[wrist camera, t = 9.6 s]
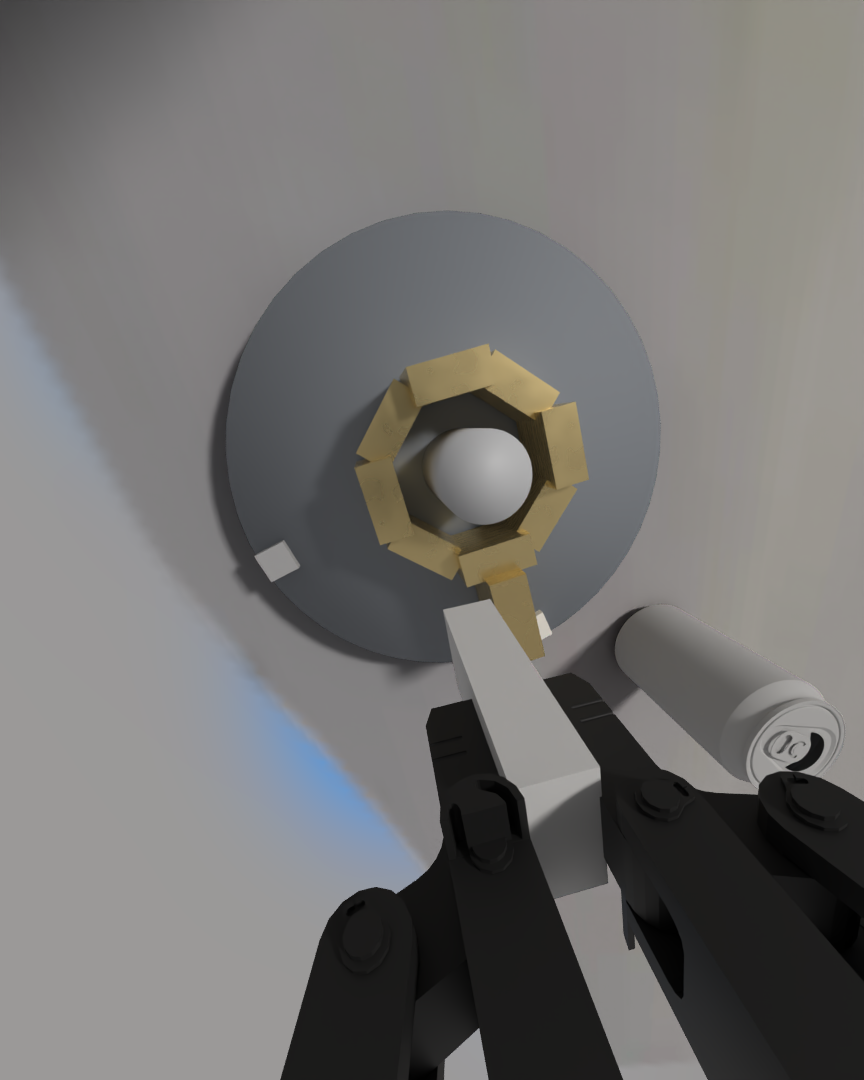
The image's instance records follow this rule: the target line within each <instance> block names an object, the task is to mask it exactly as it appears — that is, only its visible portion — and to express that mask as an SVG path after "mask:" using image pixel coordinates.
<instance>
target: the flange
mask: <svg viewBox="0 0 864 1080" xmlns="http://www.w3.org/2000/svg"><path fill="white" fill-rule="evenodd" d="M488 343H489V347H490V352H492V351H493V350H495V349H496V350H497V351H499V352H500V353H502V354H503V355H505V356H506V357H508V358H509V359H511V360H512V361H514V362H515V363H517V364H518V365H520V366H521V367H523V368H524V369H526V370H527V371H529V372H530V373H532V374H533V375H535V376H536V377H538V378H539V379H541V380H542V381H544V382H545V383H547V384H548V385H550V386H551V387H553V388H554V389H556V390H557V391H559V392H560V393H559V395H558V397H557V399H556V400H555V402H554V404H560V403H568V402H576V406H577V412H578V418H579V424H580V429H581V435H582V441H583V447H584V453H585V459H586V464H587V470H588V476H589V480H586V481H583V482H580V483H577V484H573V485H572V486H573V487H575V488H577V491H576V492H575V494H574V496H573V497H572V499H571V501H570V502H569V504H568V506H567V507H566V509H565V510H564V512H563V514H562V515H561V517H560V519H559V520H558V522H557V524H556V525H555V527H554V529H553V530H552V532H551V534H550V535H549V537H548V539H547V540H546V542H545V543H544V545H543V547H542V548H541V550H540V552H539V551H537V550H535V549H534V551H535V556H536V560H537V565H534V566H531V567H528V568H525V569H522V570H523V571H524V572H525V573H526V575H527V580H528V584H529V588H530V593H531V597H532V601H533V606H534V610H535V614H536V619H537V623H538V627H539V632H540V636H541V640H542V639H544V638H546V637H548V636H550V635H552V632H551V630H552V629H554V628H556V627H557V626H559V625H560V624H562V623H563V622H564V621H566V620H567V619H568V618H570V617H571V616H572V615H573V614H575V613H576V612H577V611H579V610H580V609H581V608H582V607H583V606H584V605H585V604H586V603H587V602H588V601H589V600H590V599H591V598H592V597H593V596H595V595H596V594H597V593H598V592H599V590H600V589H601V588H602V587H603V586H604V584H605V583H606V582H607V581H608V580H609V578H610V577H611V576H612V575H613V574H614V572H615V571H616V569H617V568H618V566H619V565H620V563H621V562H622V560H623V559H624V557H625V556H626V554H627V553H628V551H629V549H630V547H631V545H632V543H633V541H634V539H635V537H636V536H637V534H638V532H639V530H640V528H641V525H642V522H643V520H644V517H645V514H646V512H647V509H648V507H649V504H650V500H651V496H652V492H653V488H654V485H655V481H656V476H657V469H658V461H659V454H660V424H661V423H660V413H659V403H658V394H657V390H656V385H655V381H654V376H653V372H652V367H651V365H650V362H649V359H648V356H647V354H646V351H645V348H644V345H643V342H642V340H641V338H640V336H639V334H638V332H637V330H636V328H635V326H634V324H633V322H632V320H631V319H630V317H629V315H628V313H627V312H626V310H625V309H624V307H623V306H622V304H621V303H620V302H619V300H618V299H617V297H616V296H615V294H614V293H613V292H612V290H611V289H610V288H609V287H608V286H607V285H606V284H605V282H604V281H603V280H602V279H601V278H600V277H599V276H598V275H597V274H596V273H595V272H594V271H593V270H592V269H591V267H589V266H588V265H587V264H586V263H584V262H583V261H582V260H581V259H579V258H578V257H577V256H576V255H575V254H573V253H572V252H571V251H570V250H568V249H567V248H566V247H564V246H562V245H561V244H559V243H557V242H555V241H554V240H552V239H550V238H549V237H547V236H545V235H544V234H542V233H540V232H538V231H535V230H533V229H531V228H528V227H526V226H523V225H521V224H518V223H516V222H513V221H511V220H507V219H502V218H498V217H494V216H490V215H485V214H481V213H471V212H458V211H436V212H424V213H413V214H409V215H405V216H401V217H397V218H392V219H388V220H384V221H381V222H378V223H376V224H374V225H371V226H369V227H366V228H364V229H361V230H359V231H357V232H354V233H352V234H350V235H348V236H347V237H345V238H343V239H342V240H340V241H338V242H337V243H335V244H333V245H332V246H330V247H328V248H327V249H325V250H323V251H322V252H321V253H319V254H318V255H317V256H316V257H315V258H313V259H312V260H311V261H310V262H309V263H307V264H306V265H305V266H304V267H303V268H302V269H300V270H299V271H298V272H297V273H296V274H295V275H294V276H293V277H292V278H291V279H290V280H289V282H288V283H287V284H286V285H285V286H284V287H283V288H282V289H281V291H280V292H279V293H278V294H277V295H276V296H275V297H274V299H273V300H272V302H271V303H270V305H269V306H268V308H267V309H266V311H265V312H264V314H263V315H262V317H261V318H260V320H259V321H258V323H257V325H256V326H255V328H254V330H253V332H252V334H251V337H250V339H249V341H248V343H247V345H246V347H245V349H244V352H243V354H242V356H241V359H240V362H239V365H238V369H237V372H236V375H235V378H234V382H233V385H232V388H231V394H230V401H229V407H228V414H227V420H226V459H227V467H228V475H229V484H230V488H231V492H232V496H233V500H234V503H235V507H236V511H237V515H238V517H239V520H240V522H241V524H242V527H243V529H244V532H245V534H246V537H247V539H248V542H249V544H250V545H251V547H252V549H253V550H254V552H255V554H256V555H255V556H254V557H255V558H256V560H257V561H258V563H259V564H260V566H261V567H262V569H263V570H264V572H265V573H266V575H267V576H268V578H269V579H270V581H271V582H273V581H274V582H275V584H276V585H277V586H278V587H279V589H280V590H281V591H282V592H283V593H284V594H285V595H286V596H287V597H288V598H289V599H290V600H291V601H292V602H293V603H294V604H295V605H296V606H297V607H298V608H299V609H300V610H301V611H302V612H304V613H305V614H306V615H307V616H309V617H310V618H311V619H313V620H314V621H315V622H316V623H318V624H319V625H320V626H322V627H323V628H325V629H327V630H328V631H330V632H332V633H333V634H335V635H337V636H339V637H340V638H342V639H344V640H346V641H348V642H350V643H353V644H355V645H357V646H360V647H362V648H364V649H366V650H369V651H372V652H376V653H379V654H383V655H386V656H390V657H393V658H399V659H405V660H412V661H418V662H442V663H444V662H453V661H452V655H451V650H450V645H449V639H448V634H447V629H446V623H445V618H444V613H443V610H444V609H448V608H453V607H457V606H461V605H466V604H470V603H474V602H479V599H478V596H477V592H476V588H475V585H473V586H470V587H467V586H466V585H465V583H464V582H463V580H462V579H461V577H460V575H459V574H458V572H456V574H455V576H454V578H453V579H452V580H450V579H448V578H446V577H444V576H442V575H440V574H438V573H436V572H434V571H432V570H430V569H428V568H426V567H423V566H421V565H419V564H417V563H415V562H413V561H411V560H409V559H407V558H405V557H403V556H401V555H399V554H397V553H395V552H393V551H390V550H388V549H387V544H383V545H380V543H379V540H378V537H377V534H376V531H375V528H374V525H373V522H372V519H371V516H370V513H369V510H368V507H367V504H366V501H365V498H364V495H363V492H362V489H361V486H360V483H359V480H358V477H357V474H356V471H355V464H356V462H357V461H360V460H363V459H365V458H364V457H362V456H360V455H358V454H356V452H357V450H358V448H359V446H360V444H361V442H362V440H363V438H364V436H365V434H366V432H367V430H368V428H369V426H370V424H371V422H372V420H373V418H374V416H375V414H376V412H377V410H378V408H379V406H380V404H381V402H382V400H383V398H384V396H385V394H386V392H387V390H388V388H389V386H390V384H391V383H392V381H393V379H395V380H397V381H399V382H400V378H399V377H400V375H401V374H402V372H403V371H404V369H405V368H406V367H408V366H411V365H415V364H418V363H422V362H425V361H429V360H432V359H436V358H439V357H443V356H446V355H450V354H453V353H457V352H460V351H464V350H467V349H471V348H474V347H478V346H481V345H485V344H488ZM400 383H401V382H400ZM393 466H394V469H395V472H396V476H397V479H398V482H399V485H400V489H401V492H402V495H403V499H404V502H405V505H406V508H407V512H408V514H410V515H412V516H414V517H416V518H418V519H420V520H422V521H424V522H426V523H428V524H430V525H432V526H433V527H435V528H437V529H439V530H441V531H443V532H445V533H447V534H449V535H451V536H452V535H455V534H458V533H461V532H464V531H467V530H470V529H474V528H477V527H480V526H483V525H488V524H494V523H497V522H500V521H503V520H505V519H507V518H508V517H510V516H511V515H512V514H514V513H515V512H516V511H517V510H518V509H519V508H520V507H521V505H522V504H523V503H524V501H525V499H526V498H527V496H528V493H529V491H530V487H531V483H532V465H531V461H530V458H529V455H528V453H527V451H526V449H525V448H524V446H523V445H522V444H521V443H520V439H519V434H518V430H517V425H516V421H514V420H513V419H511V418H510V417H508V416H506V415H505V414H503V413H502V412H500V411H498V410H497V409H495V408H494V407H492V406H490V405H489V404H487V403H486V402H484V401H482V400H481V399H479V398H478V397H476V396H474V395H473V394H471V393H467V394H463V395H460V396H456V397H453V398H450V399H446V400H443V401H439V402H436V403H432V404H429V405H426V406H422V407H421V409H420V411H419V413H418V415H417V417H416V419H415V421H414V423H413V425H412V427H411V428H410V430H409V432H408V434H407V436H406V438H405V440H404V442H403V444H402V446H401V448H400V449H399V451H398V453H397V455H396V457H395V459H394V461H393Z"/></svg>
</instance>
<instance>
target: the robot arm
mask: <svg viewBox="0 0 864 1080" xmlns="http://www.w3.org/2000/svg"><path fill="white" fill-rule="evenodd" d="M443 613H444V618H445V623H446V629H447V634H448V639H449V645H450V650H451V655H452V661H453V666H454V671H455V676H456V682H457V686H458V689H459V692H460V695H461V698H462V701H461V702H457V703H453V704H449V705H445V706H441V707H437V708H433V709H431V712H430V715H429V718H428V721H427V724H426V730H427V735H428V741H429V746H430V752H431V757H432V762H433V768H434V774H435V779H436V785H437V790H438V796H439V801H440V824H441V828H442V832H443V837H444V838H443V843H442V847H441V849H440V852H439V854H438V856H437V858H436V860H435V861H434V863H433V864H432V865H431V867H430V868H429V869H428V870H427V871H426V872H425V873H424V874H423V875H422V876H421V877H419V878H418V879H417V880H416V881H414V882H413V883H412V884H410V885H408V886H407V887H406V888H405V889H403V890H401V891H400V892H398V893H397V894H395V893H394V892H393V891H392V890H387V889H383V888H378V887H374V888H370V889H366V890H362V891H358V892H357V893H355V894H354V895H352V896H351V897H349V898H348V899H347V900H345V901H344V902H342V904H341V905H340V906H339V907H338V909H337V910H336V911H335V912H334V914H333V915H332V916H331V917H330V918H329V920H328V922H327V925H326V927H325V929H324V932H323V934H322V936H321V939H320V941H319V945H318V948H317V952H316V955H315V959H314V962H313V966H312V970H311V973H310V977H309V980H308V984H307V988H306V991H305V995H304V998H303V1002H302V1005H301V1009H300V1012H299V1016H298V1019H297V1023H296V1026H295V1030H294V1034H293V1037H292V1040H291V1044H290V1048H289V1051H288V1055H287V1059H286V1062H285V1065H284V1069H283V1072H282V1076H281V1079H280V1080H444V1064H445V1063H444V1062H445V1059H446V1058H447V1057H448V1056H449V1055H450V1054H451V1053H452V1052H453V1051H454V1050H455V1049H456V1048H458V1047H459V1046H460V1045H461V1044H462V1043H463V1042H464V1041H465V1040H466V1039H467V1038H469V1037H470V1036H471V1035H472V1034H473V1033H474V1032H475V1031H476V1030H477V1029H478V1028H479V1029H480V1034H481V1040H482V1045H483V1051H484V1056H485V1062H486V1067H487V1073H488V1078H489V1080H623V1078H622V1076H621V1073H620V1070H619V1068H618V1065H617V1063H616V1060H615V1057H614V1055H613V1052H612V1049H611V1047H610V1044H609V1042H608V1039H607V1036H606V1034H605V1031H604V1029H603V1026H602V1023H601V1021H600V1018H599V1016H598V1013H597V1010H596V1008H595V1005H594V1003H593V1000H592V997H591V995H590V992H589V990H588V987H587V984H586V982H585V979H584V976H583V974H582V971H581V969H580V966H579V963H578V961H577V958H576V956H575V953H574V950H573V948H572V945H571V943H570V940H569V937H568V935H567V932H566V930H565V927H564V924H563V922H562V919H561V916H560V914H559V911H558V909H557V906H556V903H555V901H554V899H556V898H559V897H563V896H566V895H570V894H573V893H576V892H580V891H583V890H587V889H590V888H593V887H597V886H600V885H604V884H607V883H608V875H607V864H608V866H609V868H610V870H611V872H612V874H613V875H614V877H615V879H616V881H617V883H618V885H619V887H620V889H621V896H622V914H623V932H624V936H625V940H626V943H627V946H628V949H629V950H631V949H635V939H634V935H635V937H636V939H637V941H638V943H639V945H640V947H641V949H642V951H643V953H644V955H645V957H646V959H647V961H648V963H649V965H650V967H651V969H652V970H653V972H654V974H655V976H656V978H657V980H658V982H659V984H660V986H661V988H662V990H663V992H664V994H665V996H666V998H667V1000H668V1002H669V1004H670V1006H671V1008H672V1010H673V1012H674V1014H675V1016H676V1018H677V1020H678V1022H679V1024H680V1026H681V1028H682V1030H683V1032H684V1034H685V1036H686V1038H687V1040H688V1041H689V1043H690V1045H691V1047H692V1049H693V1051H694V1053H695V1055H696V1057H697V1059H698V1061H699V1063H700V1065H701V1067H702V1069H703V1071H704V1073H705V1075H706V1077H707V1079H708V1080H864V802H863V801H862V800H860V799H858V798H857V797H855V796H854V795H852V794H850V793H849V792H847V791H845V790H844V789H842V788H840V787H838V786H836V785H834V784H832V783H830V782H828V781H826V780H824V779H822V778H820V777H816V776H812V775H809V774H805V773H801V772H793V771H778V772H775V773H772V774H769V775H766V776H765V778H764V779H763V780H762V781H761V783H760V784H759V789H758V795H751V794H728V793H713V792H705V791H701V790H697V789H695V788H694V787H693V786H692V785H690V784H689V783H688V782H687V781H686V780H685V779H683V778H681V777H679V776H677V775H675V774H673V773H671V772H669V771H666V770H661V769H660V768H659V767H658V766H657V765H656V764H655V763H654V762H653V760H652V759H651V758H650V757H649V756H648V754H647V753H646V752H645V751H644V749H643V748H642V747H641V746H640V745H639V743H638V742H637V741H636V740H635V739H634V737H633V736H632V735H631V734H630V732H629V731H628V730H627V729H626V728H625V726H624V725H623V724H622V723H621V721H620V720H619V719H618V718H617V717H616V715H613V713H612V710H611V709H610V708H609V707H608V706H607V704H606V703H605V702H603V701H602V698H601V697H600V696H599V695H598V693H597V692H596V691H595V690H594V688H593V687H592V686H591V685H590V684H589V683H588V682H586V681H584V680H583V679H581V678H579V677H577V676H576V675H574V674H572V673H568V674H564V675H560V676H556V677H552V678H548V679H544V680H543V679H542V678H541V676H540V675H539V673H538V671H537V670H536V668H535V667H534V665H533V664H532V662H531V661H530V659H529V658H528V656H527V655H526V653H525V652H524V650H523V649H522V647H521V646H520V644H519V642H518V641H517V639H516V638H515V636H514V635H513V633H512V632H511V630H510V629H509V627H508V626H507V624H506V623H505V621H504V620H503V618H502V617H501V615H500V613H499V612H498V610H497V609H496V607H495V606H494V604H493V603H492V601H491V600H490V599H488V600H483V601H479V602H474V603H470V604H466V605H461V606H457V607H453V608H448V609H444V610H443Z"/></svg>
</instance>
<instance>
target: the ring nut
mask: <svg viewBox="0 0 864 1080" xmlns="http://www.w3.org/2000/svg"><path fill="white" fill-rule="evenodd" d="M399 378H400V382H401V383H400V382H399V381H397V380H395V379H393V381H392V383H391V384H390V386H389V388H388V390H387V392H386V394H385V396H384V398H383V400H382V402H381V404H380V406H379V408H378V410H377V412H376V414H375V416H374V418H373V420H372V422H371V424H370V426H369V428H368V430H367V432H366V434H365V436H364V438H363V440H362V442H361V444H360V446H359V448H358V450H357V452H356V454H358V455H360V456H362V457H364V458H365V459H363V460H360V461H357V462H356V464H355V471H356V474H357V477H358V480H359V483H360V486H361V489H362V492H363V495H364V498H365V501H366V504H367V507H368V510H369V513H370V516H371V519H372V522H373V525H374V528H375V531H376V534H377V537H378V540H379V543H380V545H383V544H387V549H388V550H390V551H393V552H395V553H397V554H399V555H401V556H403V557H405V558H407V559H409V560H411V561H413V562H415V563H417V564H419V565H421V566H423V567H426V568H428V569H430V570H432V571H434V572H436V573H438V574H440V575H442V576H444V577H446V578H448V579H450V580H452V579H453V578H454V576H455V574H456V572H458V574H459V575H460V577H461V579H462V580H463V582H464V583H465V585H466V586H467V587H470V586H473V585H475V588H476V592H477V596H478V599H479V601H483V600H488V599H490V600H491V601H492V603H493V604H494V606H495V607H496V609H497V610H498V612H499V613H500V615H501V617H502V618H503V620H504V621H505V623H506V624H507V626H508V627H509V629H510V630H511V632H512V633H513V635H514V636H515V638H516V639H517V641H518V642H519V644H520V646H521V647H522V649H523V650H524V652H525V653H526V655H527V656H528V658H529V659H530V661H531V660H534V659H537V658H540V657H543V656H545V653H544V649H543V645H542V640H541V636H540V632H539V627H538V623H537V619H536V614H535V610H534V606H533V601H532V597H531V593H530V588H529V584H528V580H527V575H526V573H525V572H524V571H523V570H522V569H525V568H528V567H531V566H534V565H537V560H536V556H535V551H534V549H535V550H537V551H539V552H540V550H541V548H542V547H543V545H544V543H545V542H546V540H547V539H548V537H549V535H550V534H551V532H552V530H553V529H554V527H555V525H556V524H557V522H558V520H559V519H560V517H561V515H562V514H563V512H564V510H565V509H566V507H567V506H568V504H569V502H570V501H571V499H572V497H573V496H574V494H575V492H576V491H577V488H575V487H573V486H572V485H573V484H577V483H580V482H583V481H586V480H589V476H588V470H587V464H586V459H585V453H584V447H583V441H582V435H581V429H580V424H579V418H578V412H577V406H576V402H568V403H560V404H554V402H555V400H556V399H557V397H558V395H559V393H560V392H559V391H557V390H556V389H554V388H553V387H551V386H550V385H548V384H547V383H545V382H544V381H542V380H541V379H539V378H538V377H536V376H535V375H533V374H532V373H530V372H529V371H527V370H526V369H524V368H523V367H521V366H520V365H518V364H517V363H515V362H514V361H512V360H511V359H509V358H508V357H506V356H505V355H503V354H502V353H500V352H499V351H497V350H496V349H495V350H493V351H492V352H490V347H489V343H488V344H485V345H481V346H478V347H474V348H471V349H467V350H464V351H460V352H457V353H453V354H450V355H446V356H443V357H439V358H436V359H432V360H429V361H425V362H422V363H418V364H415V365H411V366H408V367H406V368H405V369H404V371H403V372H402V374H401V375H400V377H399ZM467 393H471V394H473V395H474V396H476V397H478V398H479V399H481V400H482V401H484V402H486V403H487V404H489V405H490V406H492V407H494V408H495V409H497V410H498V411H500V412H502V413H503V414H505V415H506V416H508V417H510V418H511V419H513V420H514V421H516V425H517V430H518V434H519V439H520V443H521V444H522V445H523V446H524V448H525V449H526V451H527V453H528V455H529V458H530V461H531V465H532V483H531V487H530V491H529V493H528V496H527V498H526V499H525V501H524V503H523V504H522V505H521V507H520V508H519V509H518V510H517V511H516V512H515V513H514V514H512V515H511V516H510V517H508V518H507V519H505V520H503V521H500V522H497V523H494V524H488V525H483V526H480V527H477V528H474V529H470V530H467V531H464V532H461V533H458V534H455V535H452V536H451V535H449V534H447V533H445V532H443V531H441V530H439V529H437V528H435V527H433V526H432V525H430V524H428V523H426V522H424V521H422V520H420V519H418V518H416V517H414V516H412V515H410V514H408V512H407V508H406V505H405V502H404V499H403V495H402V492H401V489H400V485H399V482H398V479H397V476H396V472H395V469H394V466H393V461H394V459H395V457H396V455H397V453H398V451H399V449H400V448H401V446H402V444H403V442H404V440H405V438H406V436H407V434H408V432H409V430H410V428H411V427H412V425H413V423H414V421H415V419H416V417H417V415H418V413H419V411H420V409H421V407H422V406H426V405H429V404H432V403H436V402H439V401H443V400H446V399H450V398H453V397H456V396H460V395H463V394H467Z"/></svg>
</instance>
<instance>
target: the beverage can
mask: <svg viewBox="0 0 864 1080" xmlns="http://www.w3.org/2000/svg"><path fill="white" fill-rule="evenodd" d="M615 656H616V660H617V663H618V665H619V667H620V668H621V670H622V671H623V672H624V673H625V674H626V675H627V676H628V677H629V678H630V679H631V680H632V681H633V682H634V683H635V684H637V685H638V686H639V687H640V688H641V689H642V690H643V691H644V692H645V693H646V694H647V695H648V696H649V697H650V698H651V699H652V700H653V701H654V702H655V703H656V704H658V705H659V706H660V707H661V708H662V709H663V710H664V711H665V712H666V713H667V714H668V715H669V716H670V717H671V718H672V719H673V720H674V721H675V722H676V723H677V724H679V725H680V726H681V727H682V728H683V729H684V730H685V731H686V732H687V733H688V734H689V735H690V736H691V737H692V738H693V739H694V740H695V741H696V742H697V743H698V744H700V745H701V746H702V747H703V748H704V749H705V750H706V751H707V752H708V753H709V754H710V755H711V756H712V757H713V758H714V759H715V760H716V761H717V762H718V763H719V764H721V765H722V766H723V767H724V768H725V769H726V770H727V771H728V772H729V773H730V774H731V775H733V776H734V777H736V778H738V779H740V780H743V781H746V782H750V783H751V784H752V785H753V786H754V787H755V788H757V789H759V784H760V783H761V781H762V780H763V779H764V778H765V776H766V775H769V774H772V773H775V772H778V771H793V772H801V773H805V774H809V775H812V776H816V777H820V778H821V777H822V776H823V775H824V774H825V773H826V772H827V771H828V770H829V769H830V768H831V767H832V765H833V764H834V763H835V761H836V760H837V758H838V756H839V754H840V752H841V750H842V748H843V745H844V741H845V735H846V727H845V722H844V719H843V716H842V715H841V713H840V712H839V711H838V710H837V709H836V708H835V707H834V706H832V705H831V704H829V703H827V702H826V701H825V699H824V697H823V696H822V694H821V693H820V691H819V690H818V689H817V688H816V687H814V686H813V685H811V684H810V683H808V682H806V681H804V680H803V679H801V678H799V677H797V676H796V675H794V674H792V673H791V672H789V671H787V670H785V669H784V668H782V667H780V666H778V665H777V664H775V663H773V662H771V661H770V660H768V659H766V658H765V657H763V656H761V655H759V654H758V653H756V652H754V651H752V650H751V649H749V648H747V647H745V646H744V645H742V644H740V643H738V642H737V641H735V640H733V639H732V638H730V637H728V636H726V635H725V634H723V633H721V632H719V631H718V630H716V629H714V628H712V627H711V626H709V625H707V624H706V623H704V622H702V621H700V620H699V619H697V618H695V617H693V616H692V615H690V614H688V613H686V612H685V611H683V610H681V609H680V608H678V607H675V606H672V605H667V604H656V605H652V606H648V607H646V608H643V609H641V610H640V611H638V612H636V613H635V614H634V615H632V616H631V617H630V618H629V619H628V620H627V621H626V622H625V624H624V625H623V626H622V628H621V630H620V632H619V634H618V636H617V639H616V643H615Z"/></svg>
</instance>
